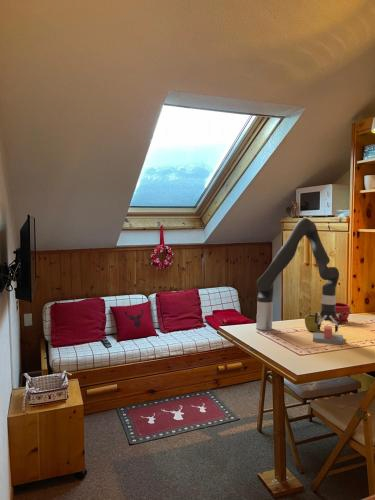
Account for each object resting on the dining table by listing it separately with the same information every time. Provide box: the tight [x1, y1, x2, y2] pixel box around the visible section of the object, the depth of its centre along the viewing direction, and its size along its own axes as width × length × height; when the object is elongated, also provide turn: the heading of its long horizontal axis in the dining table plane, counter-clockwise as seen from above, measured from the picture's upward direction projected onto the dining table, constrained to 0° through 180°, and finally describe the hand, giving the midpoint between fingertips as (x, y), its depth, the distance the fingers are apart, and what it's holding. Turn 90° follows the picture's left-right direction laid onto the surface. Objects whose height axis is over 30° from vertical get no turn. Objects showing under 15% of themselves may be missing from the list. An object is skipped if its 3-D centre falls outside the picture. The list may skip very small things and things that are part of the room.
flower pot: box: [304, 313, 323, 333], centre depth 245 cm, size 9×9×9 cm
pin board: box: [312, 332, 345, 345], centre depth 224 cm, size 16×12×5 cm
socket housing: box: [323, 325, 333, 339], centre depth 224 cm, size 4×8×5 cm, turn 162°
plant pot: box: [330, 302, 351, 325], centre depth 265 cm, size 13×13×12 cm
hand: (327, 331), depth 224 cm, fingers open, 8 cm apart
